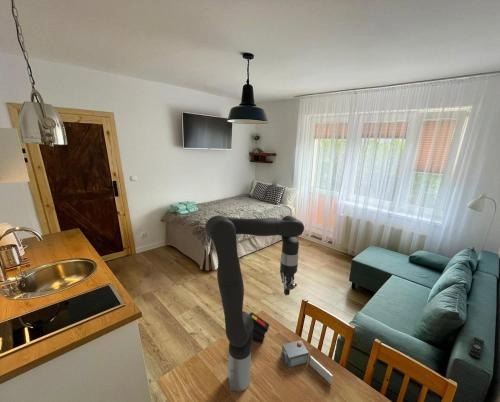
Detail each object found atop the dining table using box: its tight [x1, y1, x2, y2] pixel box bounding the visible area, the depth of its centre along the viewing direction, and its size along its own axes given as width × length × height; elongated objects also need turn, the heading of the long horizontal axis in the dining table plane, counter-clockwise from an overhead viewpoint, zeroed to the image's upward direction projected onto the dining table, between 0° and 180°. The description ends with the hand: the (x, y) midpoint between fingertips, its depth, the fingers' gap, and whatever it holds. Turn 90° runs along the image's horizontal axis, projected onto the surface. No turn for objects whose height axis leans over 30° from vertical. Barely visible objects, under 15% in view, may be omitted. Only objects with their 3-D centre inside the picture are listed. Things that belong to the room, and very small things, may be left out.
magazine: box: [248, 312, 270, 345], centre depth 116 cm, size 4×13×15 cm, turn 70°
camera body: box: [280, 339, 309, 368], centre depth 106 cm, size 12×7×7 cm, turn 106°
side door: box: [307, 354, 333, 385], centre depth 101 cm, size 12×1×5 cm, turn 39°
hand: (286, 294), depth 103 cm, fingers closed
